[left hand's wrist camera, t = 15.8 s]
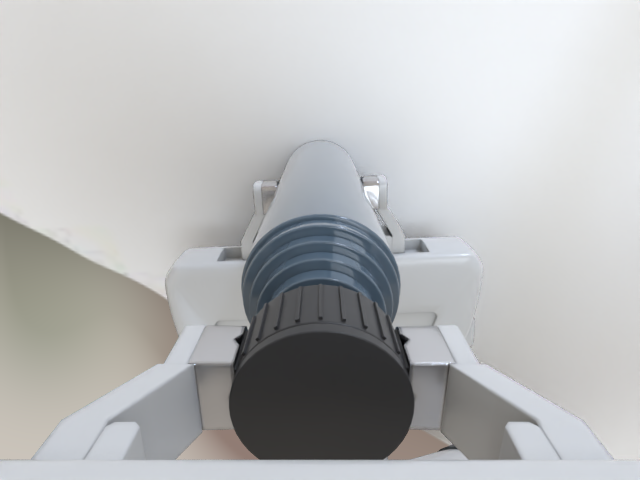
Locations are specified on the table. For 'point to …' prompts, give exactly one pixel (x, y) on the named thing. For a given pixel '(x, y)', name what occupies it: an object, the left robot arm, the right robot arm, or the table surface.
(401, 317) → the right robot arm
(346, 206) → the bottle
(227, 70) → the table surface
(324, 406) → the cap
